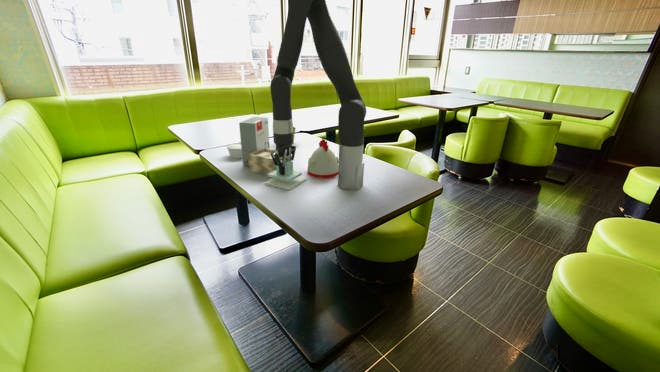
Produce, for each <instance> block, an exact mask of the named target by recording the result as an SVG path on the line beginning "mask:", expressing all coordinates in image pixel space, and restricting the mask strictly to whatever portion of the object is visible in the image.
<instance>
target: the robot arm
mask: <svg viewBox="0 0 660 372" xmlns="http://www.w3.org/2000/svg"><path fill="white" fill-rule="evenodd" d="M327 5H328V4H327V2H326V0H289V4H288V12H287V17H286V22H285V26H284V29H283V30H284V31H283V35H282V39H281V43H280V47H279V51H278V54H277V60H276V61H277V62H276V67H275V70H274V75H273V77H272V79H271V81H270V87H269V88H270V95H271V103H272V132H273V133H272V135H273V136H272V137H273V143H274V144H275V149H274V150H276V151H275V152H274V153H271V157H272V159H273V161H274V164H275V165H276V166H279V174H280V175H285V166H284V165H285V160H287V161H291V162H293V161H294V159H295V155H296V149H297V146H296V145H292V144H294V143H293V127H294V124H293V110H292V104H291V97H292V96H291V95H292V93H291V92H292V91H291V88H292V86H293V85H292V84H293V80H294V76H295V72H296V71H295V70H296V69H297V66H298V63H299V60H300V57H301V56H300V55H301V52H302V49H303V48H302V47H303V42H304V35H305V28H306V23H307V20H308V23H309V25H310V29H311V33H312V39H313V42H314V43H313V45H314V47H315V50H316V54H317V56H318V59H319V62H320V64H321V67H322V69H323V70H324V72H325V74H326V76H327V78H328V79H329V81H330V82H331V83H332V86H333V87H334V89H335V91H336V93H337V96H338V99H339V103H340V107H339V109H338V118H337V119H338V124H337V126H338V127H337V129H338V133H337V134H338V139H339V140H338V161H339V163H338V165H339V167H338V175H337V177H338V178H337V185H338V187H339V188H341V189H344V190H350V191H353V190H355V191H358V190H359V189H360V188H361V187H362V186H364V173H365V162H363V161H364V160H363V159H364V143H365V136H364V134H365V132H364V130H365V119H366V115H367V107H366V104H365V102H364V100H363V98H362V96H361V94H360V91H359V89H358V87H357V85H356V83H355V80H354V76H353V72H352V68H351V65H350V61H349V58H348V54H347V52H346V51H347V50H346V49H345V46H344V43H343V40H342V39H341V36H340V34H339V31H338V29H337V27H336V26H335V23H334V21H333V19H332V17H331V15H330V13H329V12H330V11H329V8H328V6H327ZM281 157H283V158H281ZM281 160H282V163H281Z"/></svg>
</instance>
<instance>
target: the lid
mask: <svg viewBox="0 0 660 372" xmlns="http://www.w3.org/2000/svg"><path fill="white" fill-rule="evenodd" d="M281 163H282V160H281ZM284 166H285V175H280V174H279V166H276V170H275V171H273V172H271V173H269V174H268V176H267V177H269V178H271V179H272V178H276V179H280V180H284V181H288V182H290V181H292V180H294V179H295V178H297V177H301V176H302V175H303V173H302V171H301V172H300V171H297V170H294V162H293V161H287V160H285V165H284Z"/></svg>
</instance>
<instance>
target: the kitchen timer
mask: <svg viewBox="0 0 660 372" xmlns="http://www.w3.org/2000/svg"><path fill="white" fill-rule="evenodd" d="M318 146H319V147H318V148H316V149H315V150H314V151H313V152H312V154H311V156H310V157H308V162H307V164H308V166H307V175H308V176H310V177H312V178H315V179H322V180H323V179H324V180H325V179H331V178H332V179H333V178H336V177H338V167H339V156H336V154H335V153H334V152H333V151H332V150H331V148H329V146H330V145H329V144H328V140H327V141H326V139H324V138H322V139H321V140H320V141H319V142H318Z"/></svg>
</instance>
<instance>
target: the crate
mask: <svg viewBox="0 0 660 372" xmlns="http://www.w3.org/2000/svg"><path fill="white" fill-rule="evenodd" d="M275 151H276V150H275V149H274V148H273V149H272V148H270V149H268V148H263V149H260V150H258V151H255V152H252V153H250V154H248V159H249V166H248V170H249V172H250V173H254V174H259V175H263V176H267V177H268V174H269V173H271V172H273V171H275V170H276V165H275V164H274V161H273V159H272V157H271V153H274V152H275ZM281 158H283V157H281Z"/></svg>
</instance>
